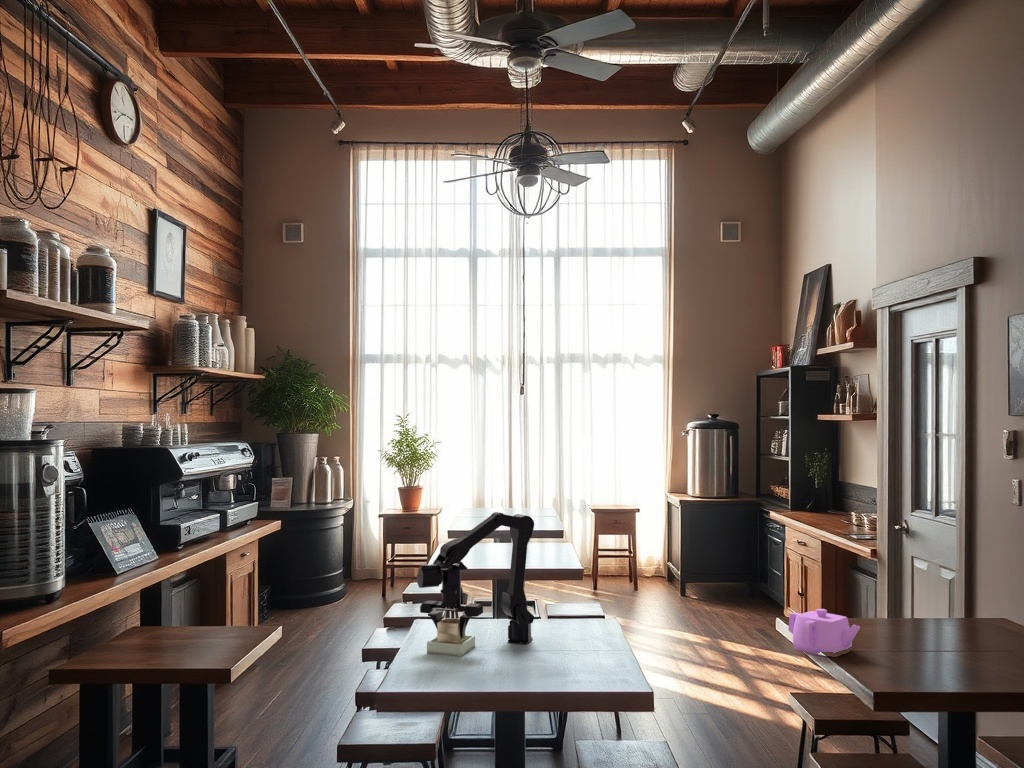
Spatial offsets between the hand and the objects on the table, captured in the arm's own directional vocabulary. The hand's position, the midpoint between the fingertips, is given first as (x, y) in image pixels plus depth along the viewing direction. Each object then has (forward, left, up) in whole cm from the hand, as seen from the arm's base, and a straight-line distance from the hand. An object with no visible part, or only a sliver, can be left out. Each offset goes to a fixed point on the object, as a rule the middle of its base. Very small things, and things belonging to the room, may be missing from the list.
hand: (451, 637), depth 249 cm
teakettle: (-108, -33, -4) cm, 113 cm away
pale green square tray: (0, 0, -4) cm, 4 cm away
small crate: (0, 0, -1) cm, 1 cm away
